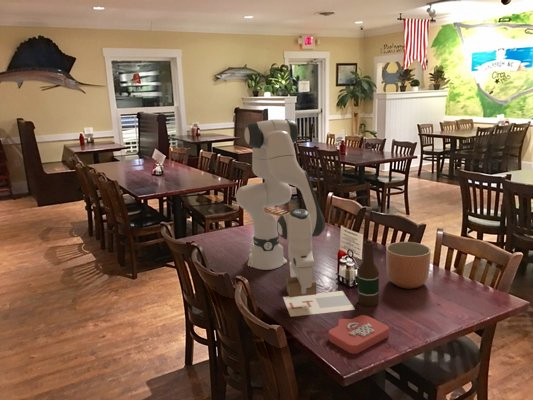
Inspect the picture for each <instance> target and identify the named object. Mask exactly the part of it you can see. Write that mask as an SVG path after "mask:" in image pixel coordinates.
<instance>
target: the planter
mask: <svg viewBox="0 0 533 400" xmlns="http://www.w3.org/2000/svg"><path fill="white" fill-rule="evenodd" d="M385 249H386V250H385V255H386V258H385V259H386V260H385V263H386V274H387V278H388V280H389V281H390V282H391V283H392V284H393V285H394V286H397V287H398V288H400V289H401V288H402V289H409V290H412V289H417V288H420V287H421V286H423V285H424V284H426V282H427V280H428V278H429V274H430V266H431V252H432V251H431V249H430V247H429V246H427V245H424V244H422V243H418V242H412V241H398V242H393V243H390V244H388V245H387V246H386V248H385Z"/></svg>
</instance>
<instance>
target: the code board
mask: <svg viewBox="0 0 533 400" xmlns="http://www.w3.org/2000/svg"><path fill="white" fill-rule="evenodd" d="M282 298H283V301H284V304H285V306H286V309H287V311H288V314H289V316H290V317H300V316H301V317H302V316H308V315H309V316H310V315H319V314H326V313H328V314H329V313H335V312H336V313H337V312H344V311H353V310H354V311H355V310H356V309H355V307H354V305H353V304H352V302H351V301H350V300H349V298H348V297H347V296H346V294H345V292H344V291H343V290H339V291H328V292H319V293H317V292H316V295H307V296H297V297H289V295H287V296H282Z"/></svg>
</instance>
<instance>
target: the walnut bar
mask: <svg viewBox="0 0 533 400" xmlns="http://www.w3.org/2000/svg"><path fill="white" fill-rule="evenodd" d="M285 279H286V280H285V281H286V292H287V294H288V296H289V297H297V296H307V295H316V294H317V281H316V279H315V277H314V276H313V277H312V286H311V287H309V288H306V293H305V294H302V293H301V285H300V283H299V281H298V279H297V277H291V276H290V277H286V278H285Z"/></svg>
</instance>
